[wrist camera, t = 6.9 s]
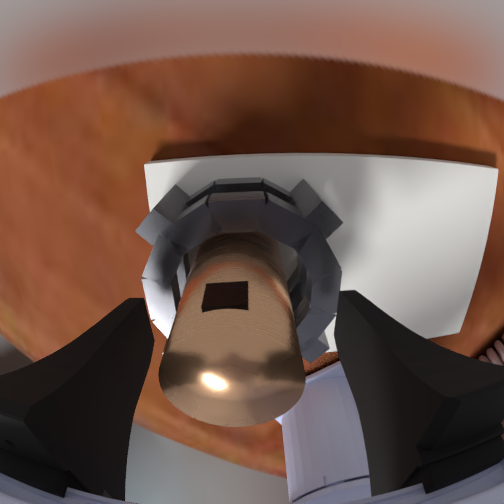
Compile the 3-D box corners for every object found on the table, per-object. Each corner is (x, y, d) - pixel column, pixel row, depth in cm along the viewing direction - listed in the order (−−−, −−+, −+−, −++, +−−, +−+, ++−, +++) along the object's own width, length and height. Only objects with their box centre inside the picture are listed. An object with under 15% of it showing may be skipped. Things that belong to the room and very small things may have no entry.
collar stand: (323, 175, 15) (347, 197, 11) (315, 315, 18) (330, 362, 14) (156, 183, 15) (128, 207, 11) (177, 320, 18) (164, 368, 14)
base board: (488, 165, 15) (498, 169, 14) (453, 324, 20) (459, 332, 19) (150, 161, 15) (144, 164, 14) (180, 347, 20) (177, 357, 19)
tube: (279, 281, 17) (302, 422, 9) (205, 286, 17) (176, 426, 9) (277, 207, 15) (309, 321, 7) (194, 213, 15) (140, 328, 7)
